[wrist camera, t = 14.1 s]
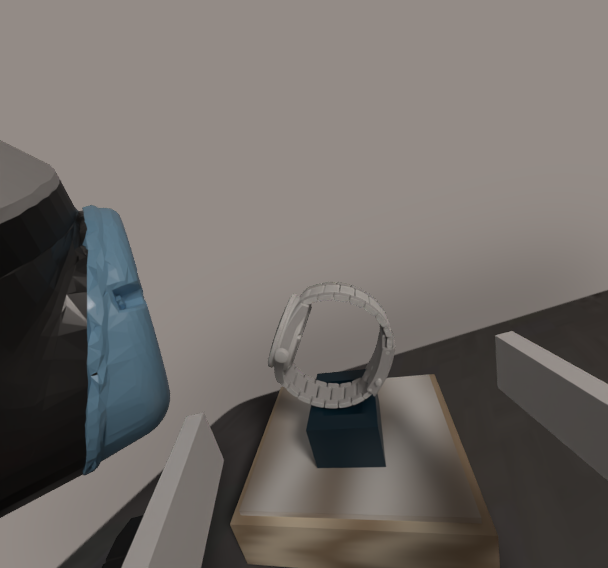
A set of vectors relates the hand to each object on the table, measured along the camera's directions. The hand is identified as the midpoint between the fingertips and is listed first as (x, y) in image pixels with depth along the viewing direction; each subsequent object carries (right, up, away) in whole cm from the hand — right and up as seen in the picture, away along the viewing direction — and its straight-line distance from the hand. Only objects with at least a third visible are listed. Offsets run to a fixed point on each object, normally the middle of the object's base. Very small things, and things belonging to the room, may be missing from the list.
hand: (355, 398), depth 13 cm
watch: (+1, -6, +8) cm, 10 cm away
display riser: (+2, -9, +9) cm, 13 cm away
